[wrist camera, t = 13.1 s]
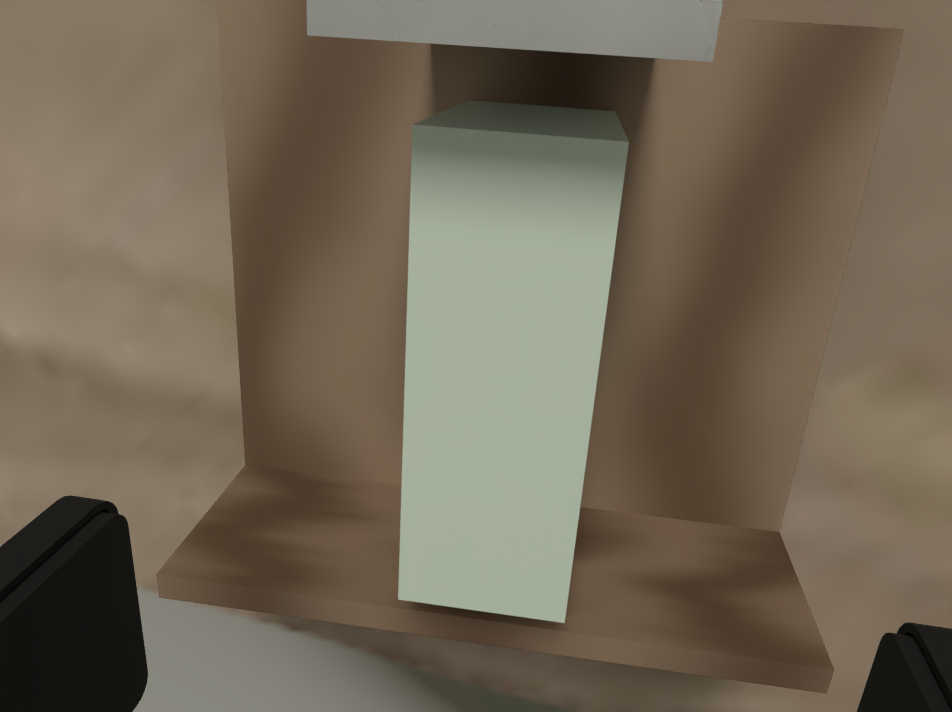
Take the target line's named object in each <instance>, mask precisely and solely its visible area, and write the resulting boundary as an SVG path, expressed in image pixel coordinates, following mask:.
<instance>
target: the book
mask: <svg viewBox="0 0 952 712" xmlns="http://www.w3.org/2000/svg"><path fill="white" fill-rule="evenodd" d="M628 146H629V141H628V139H627V136H626V134H625V132H624V130H623V128H622V125H621V123H620V121H619V119H618V117H617V115H616V112H615V111H607V110H593V109H580V108H567V107H554V106H540V105H527V104H514V103H501V102H487V101H474V100H468V101H466V102H464V103H461V104H459V105H457V106H454V107H452V108H450V109H447V110H445V111H443V112H441V113H438V114H436V115H434V116H431V117H429V118H427V119H424V120H422V121H420V122H418V123H415V124H413V125H412V157H411V190H410V223H409V256H408V289H407V322H406V355H405V388H404V421H403V454H402V487H401V520H400V553H399V586H398V600H405V601H413V602H420V603H427V604H434V605H441V606H448V607H455V608H462V609H469V610H476V611H483V612H490V613H497V614H504V615H511V616H518V617H525V618H532V619H539V620H546V621H553V622H561V623H565V617H566V609H567V602H568V594H569V587H570V579H571V572H572V564H573V557H574V549H575V542H576V534H577V527H578V519H579V512H580V504H581V497H582V489H583V482H584V474H585V467H586V460H587V452H588V445H589V437H590V430H591V422H592V415H593V407H594V400H595V392H596V385H597V377H598V370H599V362H600V355H601V347H602V340H603V332H604V325H605V318H606V310H607V303H608V295H609V288H610V280H611V273H612V265H613V258H614V250H615V243H616V235H617V228H618V220H619V213H620V205H621V198H622V190H623V183H624V175H625V168H626V161H627V153H628Z"/></svg>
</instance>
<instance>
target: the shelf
mask: <svg viewBox="0 0 952 712" xmlns="http://www.w3.org/2000/svg"><path fill="white" fill-rule="evenodd" d="M722 4H723V1H722V0H217V7H218V24H219V40H220V56H221V73H222V89H223V106H224V122H225V138H226V155H227V171H228V188H229V204H230V220H231V237H232V253H233V270H234V286H235V303H236V319H237V335H238V352H239V368H240V385H241V401H242V417H243V434H244V450H245V467H244V468H243V469H242V470H241V471H240V473H239V474H238V475H237V476H236V478H235V479H234V480H233V481H232V482H231V484H230V485H229V486H228V487H227V489H226V490H225V491H224V492H223V493H222V495H221V496H220V497H219V498H218V500H217V501H216V502H215V503H214V504H213V506H212V507H211V508H210V509H209V510H208V512H207V513H206V514H205V515H204V517H203V518H202V519H201V520H200V521H199V523H198V524H197V525H196V526H195V528H194V529H193V530H192V531H191V532H190V534H189V535H188V536H187V537H186V539H185V540H184V541H183V542H182V543H181V545H180V546H179V547H178V548H177V550H176V551H175V552H174V553H173V554H172V556H171V557H170V558H169V559H168V561H167V562H166V563H165V564H164V565H163V567H162V568H161V569H160V570H159V572H158V573H157V583H158V591H159V597H160V598H167V599H173V600H180V601H187V602H194V603H201V604H208V605H215V606H222V607H229V608H236V609H243V610H250V611H257V612H264V613H271V614H278V615H285V616H292V617H298V618H305V619H312V620H319V621H326V622H333V623H340V624H347V625H354V626H361V627H368V628H375V629H382V630H389V631H396V632H403V633H410V634H417V635H423V636H430V637H437V638H444V639H451V640H458V641H465V642H472V643H479V644H486V645H493V646H500V647H507V648H514V649H521V650H528V651H535V652H542V653H548V654H555V655H562V656H569V657H576V658H583V659H590V660H597V661H604V662H611V663H618V664H625V665H632V666H639V667H646V668H653V669H660V670H667V671H673V672H680V673H687V674H694V675H701V676H708V677H715V678H722V679H729V680H736V681H743V682H750V683H757V684H764V685H771V686H778V687H785V688H792V689H798V690H805V691H812V692H819V693H826V694H827V691H828V688H829V684H830V681H831V678H832V675H833V671H834V668H833V666H832V663H831V661H830V658H829V656H828V653H827V651H826V648H825V646H824V643H823V640H822V638H821V635H820V633H819V630H818V628H817V625H816V623H815V620H814V618H813V615H812V613H811V610H810V608H809V605H808V603H807V600H806V598H805V595H804V593H803V590H802V588H801V585H800V583H799V580H798V578H797V575H796V573H795V570H794V568H793V565H792V563H791V560H790V558H789V555H788V553H787V550H786V548H785V545H784V543H783V540H782V538H781V535H780V533H779V530H780V526H781V522H782V518H783V514H784V510H785V506H786V502H787V498H788V494H789V490H790V486H791V482H792V478H793V474H794V470H795V466H796V462H797V458H798V454H799V450H800V446H801V442H802V438H803V434H804V430H805V426H806V422H807V418H808V414H809V410H810V406H811V402H812V398H813V394H814V390H815V386H816V382H817V378H818V374H819V370H820V366H821V362H822V358H823V354H824V350H825V346H826V342H827V338H828V334H829V329H830V325H831V321H832V317H833V313H834V309H835V305H836V301H837V297H838V293H839V289H840V285H841V281H842V277H843V273H844V269H845V265H846V261H847V257H848V253H849V249H850V245H851V241H852V237H853V233H854V229H855V225H856V221H857V217H858V213H859V209H860V205H861V201H862V197H863V193H864V189H865V185H866V181H867V177H868V173H869V169H870V165H871V161H872V157H873V153H874V149H875V145H876V141H877V137H878V133H879V129H880V125H881V121H882V117H883V113H884V109H885V105H886V101H887V96H888V92H889V88H890V84H891V80H892V76H893V72H894V68H895V64H896V60H897V56H898V52H899V48H900V44H901V40H902V36H903V32H904V29H894V28H878V27H861V26H844V25H828V24H811V23H794V22H777V21H761V20H744V19H727V18H720V16H721V10H722ZM468 100H474V101H487V102H501V103H514V104H527V105H540V106H554V107H567V108H580V109H593V110H607V111H615V112H616V115H617V117H618V119H619V121H620V123H621V125H622V128H623V130H624V132H625V134H626V136H627V139H628V141H629V146H628V153H627V161H626V168H625V175H624V183H623V190H622V198H621V205H620V213H619V220H618V228H617V235H616V243H615V250H614V258H613V265H612V273H611V280H610V288H609V295H608V303H607V310H606V318H605V325H604V332H603V340H602V347H601V355H600V362H599V370H598V377H597V385H596V392H595V400H594V407H593V415H592V422H591V430H590V437H589V445H588V452H587V460H586V467H585V474H584V482H583V489H582V497H581V504H580V512H579V519H578V527H577V534H576V542H575V549H574V557H573V564H572V572H571V579H570V587H569V594H568V602H567V609H566V617H565V623H561V622H553V621H546V620H539V619H532V618H525V617H518V616H511V615H504V614H497V613H490V612H483V611H476V610H469V609H462V608H455V607H448V606H441V605H434V604H427V603H420V602H413V601H405V600H398V586H399V553H400V520H401V487H402V454H403V421H404V388H405V355H406V322H407V289H408V256H409V223H410V190H411V157H412V125H413V124H415V123H418V122H420V121H422V120H424V119H427V118H429V117H431V116H434V115H436V114H438V113H441V112H443V111H445V110H447V109H450V108H452V107H454V106H457V105H459V104H461V103H464V102H466V101H468Z"/></svg>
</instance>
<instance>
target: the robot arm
mask: <svg viewBox="0 0 952 712" xmlns="http://www.w3.org/2000/svg"><path fill="white" fill-rule="evenodd" d="M147 678H148V670H147V663H146V655H145V647H144V640H143V632H142V625H141V618H140V610H139V603H138V595H137V587H136V580H135V572H134V565H133V557H132V550H131V542H130V535H129V527H128V523H127V520H126V518H125V517H124V516H122V515H119V514H118V511H117V508H116V507H115V505H114V504H113V503H111V502H109V501H103V500H97V499H90V498H83V497H77V496H64V497H62V498H61V499H59V500H57V501H56V502H55V503H54V504H52V505H51V506H50V507H49V508H47V509H46V510H45V511H44V512H42V513H41V514H40V515H39V516H38V517H36V518H35V519H34V520H33V521H31V522H30V523H29V524H28V525H27V526H25V527H24V528H23V529H22V530H20V531H19V532H18V533H17V534H16V535H14V536H13V537H12V538H11V539H9V540H8V541H7V542H6V543H5V544H3V545H2V546H1V547H0V712H132V711H133V710H134V709H135V707H136V706H137V704H138V703H139V701H140V700H141V698H142V696H143V693H144V691H145V687H146V684H147ZM857 712H952V629H949V628H942V627H935V626H929V625H922V624H916V623H904V624H903V625H902V626H901V627H900V628H899V630H898V632H897V634H895V633H886V634H885V635H884V636H883V637H882V639H881V641H880V644H879V647H878V650H877V653H876V656H875V659H874V662H873V665H872V668H871V671H870V674H869V677H868V680H867V683H866V686H865V689H864V692H863V695H862V698H861V701H860V704H859V707H858V710H857Z"/></svg>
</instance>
